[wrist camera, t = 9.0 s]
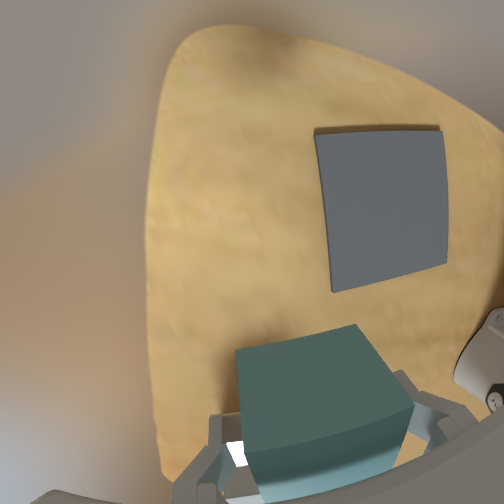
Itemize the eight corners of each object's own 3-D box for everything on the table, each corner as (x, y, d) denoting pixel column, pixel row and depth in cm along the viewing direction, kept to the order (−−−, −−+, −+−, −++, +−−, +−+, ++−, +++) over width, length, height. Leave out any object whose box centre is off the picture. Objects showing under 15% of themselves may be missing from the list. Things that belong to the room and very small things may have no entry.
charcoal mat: (439, 131, 26) (442, 131, 25) (444, 261, 31) (446, 263, 30) (313, 135, 26) (315, 135, 25) (331, 290, 30) (333, 293, 30)
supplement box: (220, 423, 35) (221, 499, 23) (271, 411, 35) (287, 488, 23) (236, 449, 37) (241, 516, 25) (282, 438, 37) (297, 506, 25)
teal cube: (355, 323, 11) (415, 405, 6) (352, 402, 13) (388, 476, 8) (235, 350, 11) (243, 453, 6) (255, 425, 13) (267, 509, 8)
